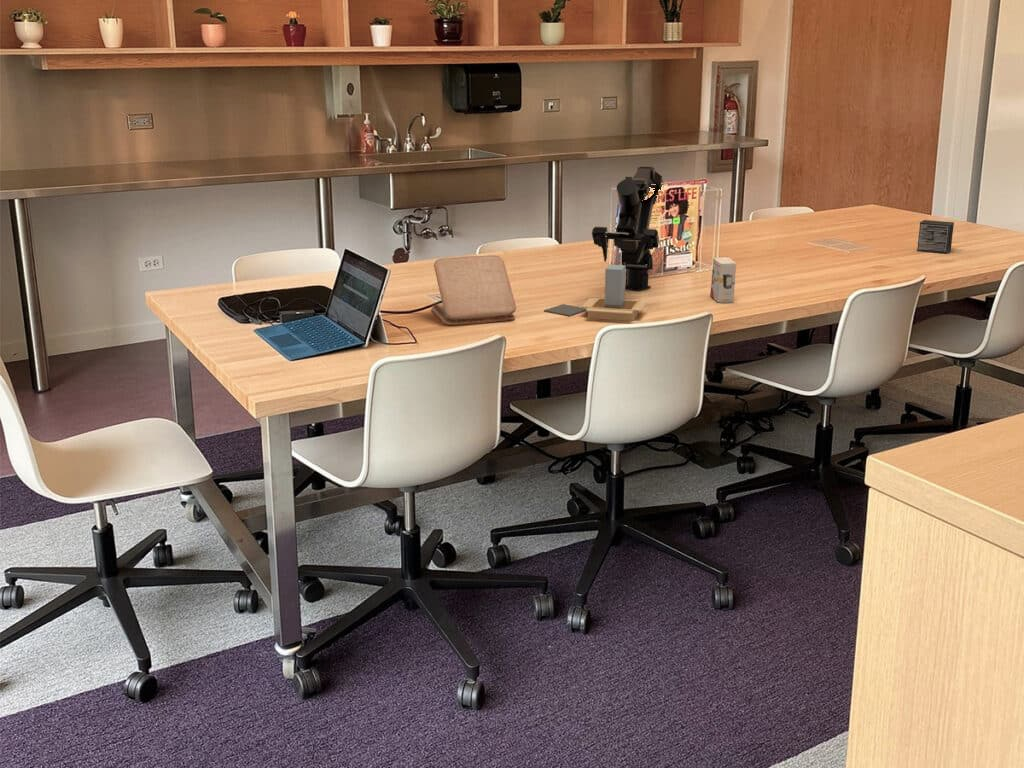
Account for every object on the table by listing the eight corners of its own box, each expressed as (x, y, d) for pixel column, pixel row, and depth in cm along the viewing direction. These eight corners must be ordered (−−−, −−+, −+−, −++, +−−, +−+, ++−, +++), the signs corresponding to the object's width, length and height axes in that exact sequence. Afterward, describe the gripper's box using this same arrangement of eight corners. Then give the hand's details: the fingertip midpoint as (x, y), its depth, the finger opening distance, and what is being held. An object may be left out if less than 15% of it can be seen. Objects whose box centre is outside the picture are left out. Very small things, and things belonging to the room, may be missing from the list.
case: (445, 328, 301) (444, 269, 296) (429, 309, 320) (428, 254, 315) (518, 322, 307) (518, 265, 302) (497, 304, 326) (497, 250, 321)
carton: (592, 304, 323) (592, 295, 322) (649, 308, 319) (649, 298, 318) (578, 319, 307) (578, 309, 306) (638, 324, 303) (638, 313, 302)
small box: (951, 251, 395) (955, 221, 392) (947, 254, 390) (951, 224, 387) (920, 248, 401) (923, 219, 397) (916, 251, 395) (919, 221, 392)
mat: (563, 305, 323) (563, 304, 323) (588, 310, 318) (588, 308, 317) (544, 311, 316) (544, 310, 316) (569, 316, 311) (569, 315, 311)
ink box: (709, 296, 333) (711, 257, 329) (726, 295, 333) (728, 256, 330) (717, 303, 325) (719, 263, 321) (734, 302, 325) (737, 262, 321)
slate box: (608, 309, 316) (609, 264, 312) (624, 310, 315) (625, 265, 311) (604, 314, 311) (605, 268, 307) (620, 315, 310) (621, 269, 306)
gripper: (663, 234, 327) (656, 279, 320) (601, 231, 332) (592, 275, 325) (660, 211, 317) (652, 257, 311) (596, 208, 322) (587, 253, 316)
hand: (620, 261), depth 316 cm, fingers open, 9 cm apart
